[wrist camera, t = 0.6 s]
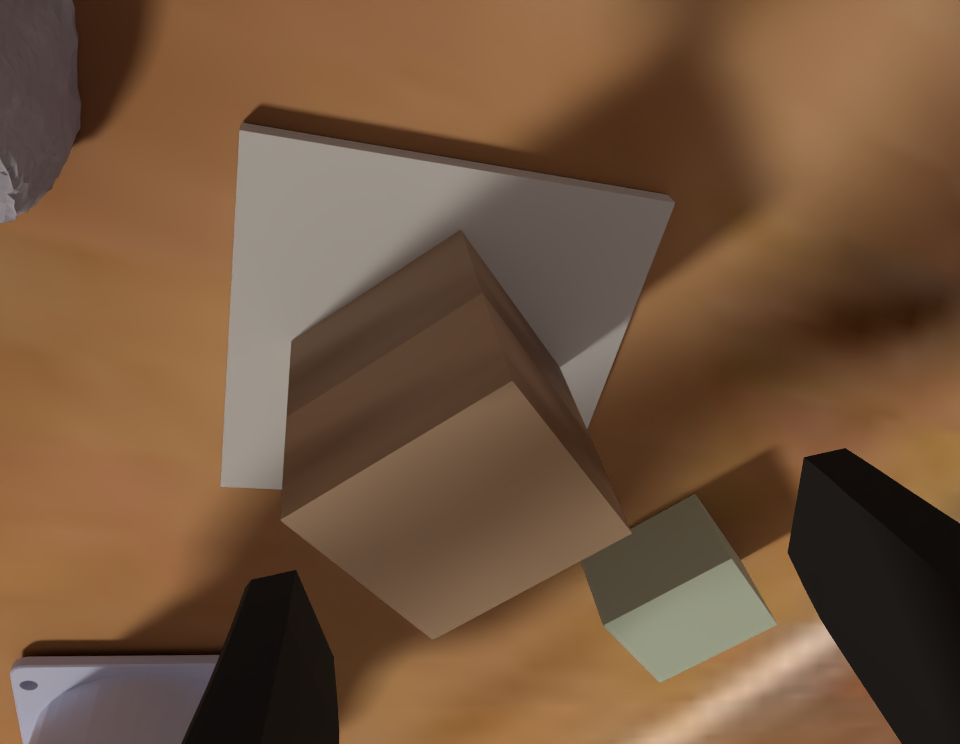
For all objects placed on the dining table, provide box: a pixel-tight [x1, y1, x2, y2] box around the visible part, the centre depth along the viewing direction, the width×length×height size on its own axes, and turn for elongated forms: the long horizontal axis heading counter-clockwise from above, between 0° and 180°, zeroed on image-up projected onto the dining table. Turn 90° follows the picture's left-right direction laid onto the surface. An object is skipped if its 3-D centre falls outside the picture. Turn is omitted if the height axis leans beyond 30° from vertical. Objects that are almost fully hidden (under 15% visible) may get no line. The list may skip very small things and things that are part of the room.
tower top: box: [280, 293, 632, 640], centre depth 16 cm, size 5×5×3 cm
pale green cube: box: [581, 494, 777, 683], centre depth 26 cm, size 4×4×3 cm
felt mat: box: [221, 123, 675, 490], centre depth 20 cm, size 10×10×1 cm
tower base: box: [286, 230, 590, 437], centre depth 18 cm, size 5×5×3 cm
